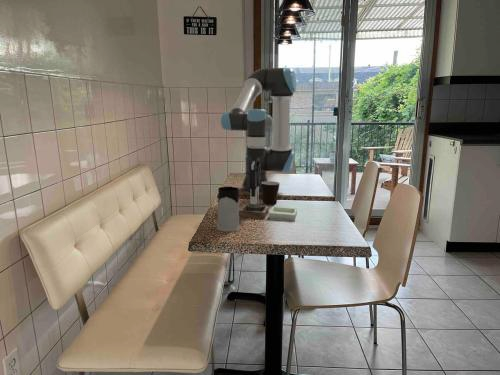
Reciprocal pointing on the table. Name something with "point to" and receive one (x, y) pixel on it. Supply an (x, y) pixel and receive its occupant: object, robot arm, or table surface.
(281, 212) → the sage tray
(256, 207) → the marbled chess piece
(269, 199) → the coffee mug
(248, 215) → the walnut holder
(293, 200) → the table surface
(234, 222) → the white and black cylinder
